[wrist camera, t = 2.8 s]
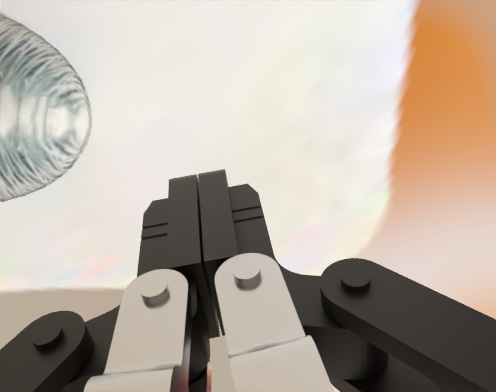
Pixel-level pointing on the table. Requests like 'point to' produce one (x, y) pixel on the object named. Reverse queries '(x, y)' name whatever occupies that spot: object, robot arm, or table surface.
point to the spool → (37, 112)
